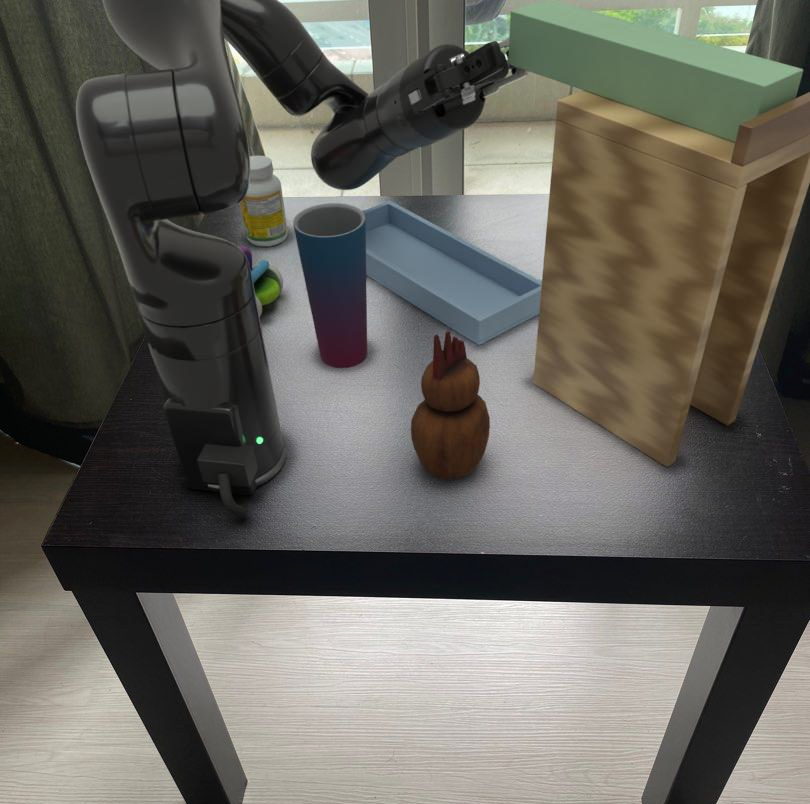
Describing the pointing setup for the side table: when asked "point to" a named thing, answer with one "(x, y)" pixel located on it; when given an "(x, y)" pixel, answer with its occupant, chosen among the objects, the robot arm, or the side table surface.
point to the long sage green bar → (649, 67)
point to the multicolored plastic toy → (264, 280)
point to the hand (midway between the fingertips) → (536, 41)
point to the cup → (335, 279)
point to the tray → (447, 274)
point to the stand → (663, 262)
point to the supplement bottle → (264, 205)
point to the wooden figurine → (450, 414)
